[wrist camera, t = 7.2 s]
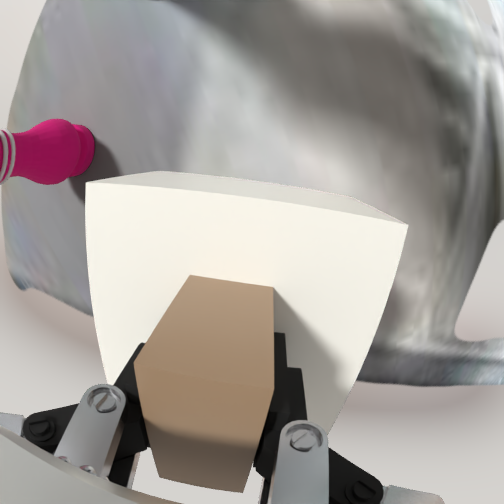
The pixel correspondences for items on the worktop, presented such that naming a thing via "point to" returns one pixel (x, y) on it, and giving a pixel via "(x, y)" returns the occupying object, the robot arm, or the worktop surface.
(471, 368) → the worktop surface
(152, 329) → the cover
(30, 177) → the pepper mill
